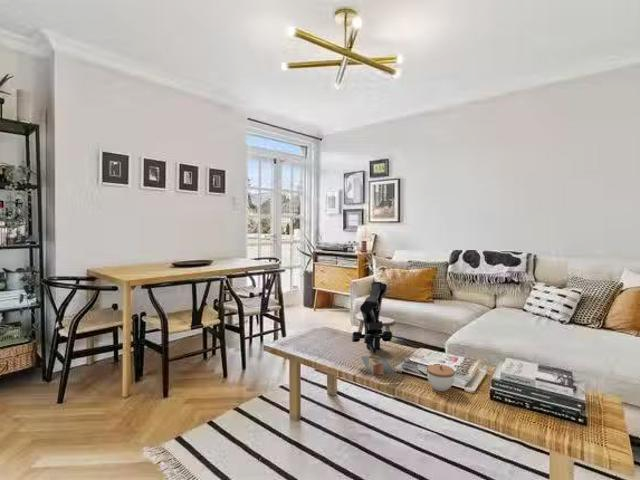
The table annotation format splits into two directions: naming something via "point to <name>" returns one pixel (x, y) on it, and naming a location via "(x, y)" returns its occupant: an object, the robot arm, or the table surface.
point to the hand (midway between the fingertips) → (374, 353)
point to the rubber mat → (386, 365)
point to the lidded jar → (440, 376)
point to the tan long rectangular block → (375, 365)
